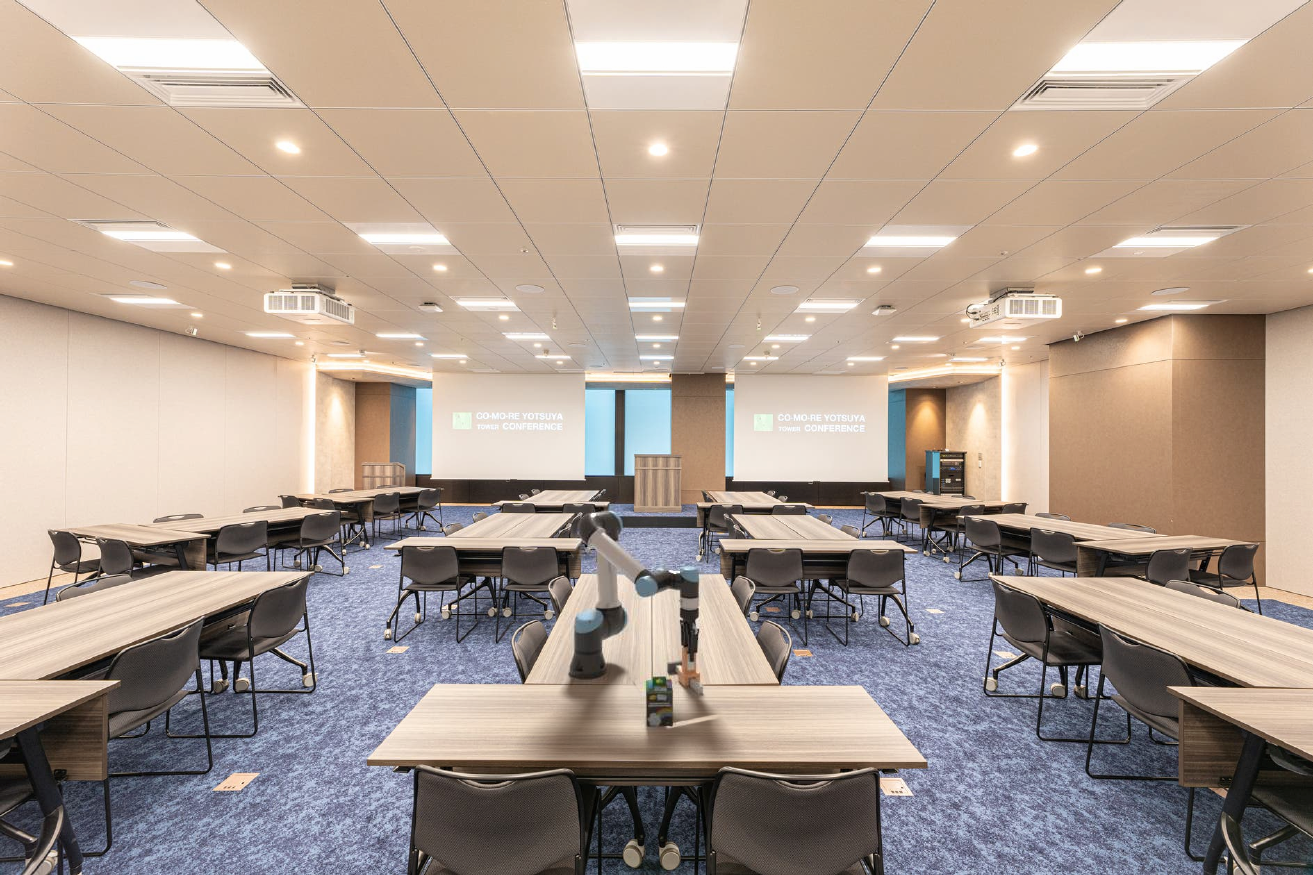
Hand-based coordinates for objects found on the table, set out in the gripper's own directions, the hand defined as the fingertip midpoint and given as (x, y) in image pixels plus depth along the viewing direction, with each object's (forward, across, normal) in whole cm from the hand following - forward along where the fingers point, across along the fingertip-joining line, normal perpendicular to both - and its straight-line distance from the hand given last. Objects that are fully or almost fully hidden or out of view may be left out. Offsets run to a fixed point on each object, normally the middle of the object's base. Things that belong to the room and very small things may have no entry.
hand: (688, 667), depth 193 cm
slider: (+5, 0, 0) cm, 5 cm away
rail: (+7, -1, 0) cm, 7 cm away
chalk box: (+7, +20, -20) cm, 29 cm away
